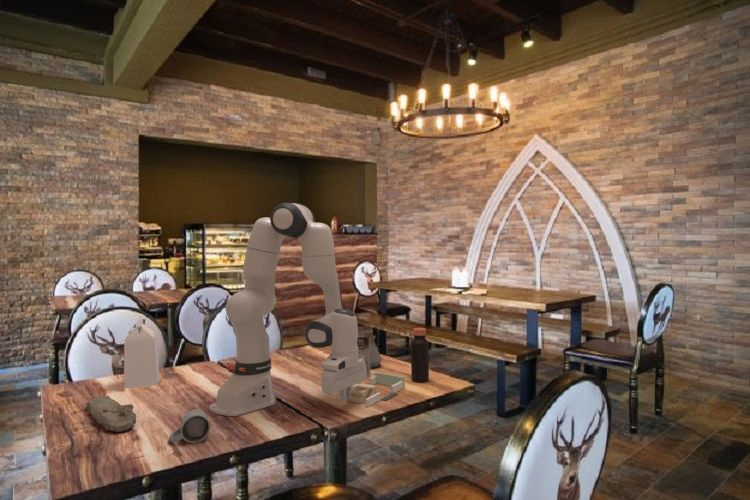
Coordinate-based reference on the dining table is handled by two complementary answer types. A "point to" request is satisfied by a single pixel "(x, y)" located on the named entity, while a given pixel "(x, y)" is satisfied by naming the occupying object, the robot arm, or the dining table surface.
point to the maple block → (362, 392)
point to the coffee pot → (374, 353)
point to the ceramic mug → (192, 427)
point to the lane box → (382, 378)
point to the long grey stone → (111, 413)
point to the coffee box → (364, 349)
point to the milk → (140, 357)
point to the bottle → (419, 356)
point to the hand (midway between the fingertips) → (346, 400)
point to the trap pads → (388, 396)
